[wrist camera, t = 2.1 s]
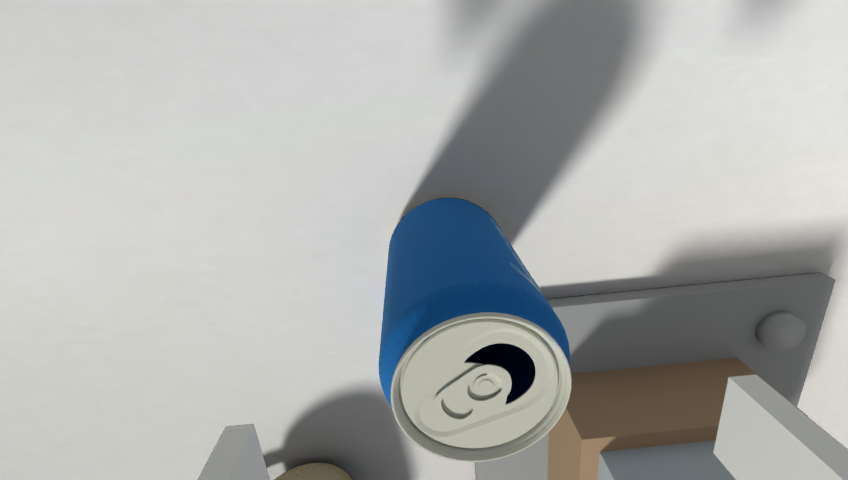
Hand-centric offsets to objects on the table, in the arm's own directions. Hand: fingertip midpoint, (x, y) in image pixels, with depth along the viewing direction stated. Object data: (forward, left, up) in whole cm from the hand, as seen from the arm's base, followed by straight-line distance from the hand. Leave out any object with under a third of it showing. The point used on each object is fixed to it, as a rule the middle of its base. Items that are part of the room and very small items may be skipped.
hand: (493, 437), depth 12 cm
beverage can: (0, 0, -14) cm, 14 cm away
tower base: (+15, +12, -13) cm, 23 cm away
